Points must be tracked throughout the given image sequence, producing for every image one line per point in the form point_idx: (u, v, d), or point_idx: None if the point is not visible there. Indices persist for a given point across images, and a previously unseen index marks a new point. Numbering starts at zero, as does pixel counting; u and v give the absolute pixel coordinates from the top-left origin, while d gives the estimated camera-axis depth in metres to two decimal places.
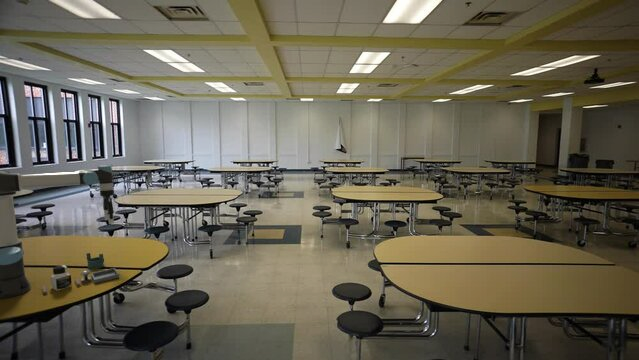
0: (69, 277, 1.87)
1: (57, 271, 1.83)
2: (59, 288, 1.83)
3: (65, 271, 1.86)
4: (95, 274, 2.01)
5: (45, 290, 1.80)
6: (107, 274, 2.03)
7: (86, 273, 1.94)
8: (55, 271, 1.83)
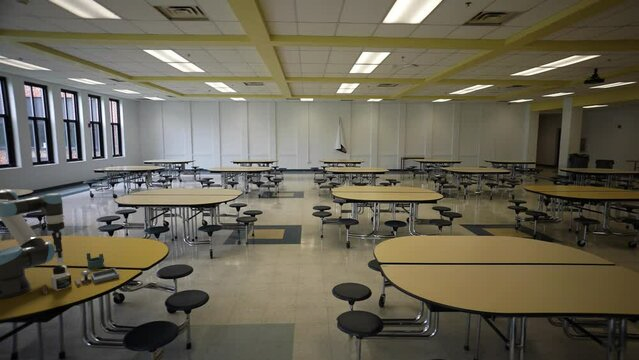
0: (69, 277, 1.87)
1: (57, 271, 1.83)
2: (59, 288, 1.83)
3: (65, 271, 1.86)
4: (95, 274, 2.01)
5: (45, 290, 1.80)
6: (107, 274, 2.03)
7: (86, 273, 1.94)
8: (55, 271, 1.83)
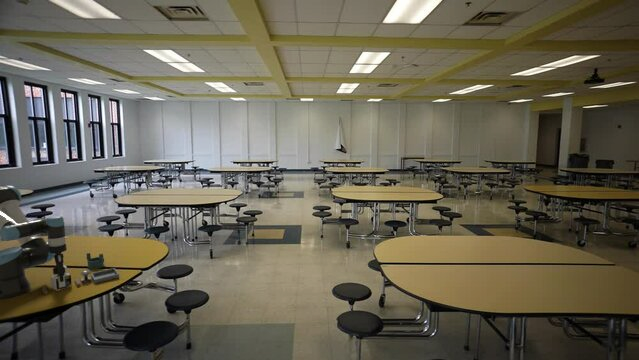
0: (69, 277, 1.87)
1: (57, 271, 1.83)
2: (59, 288, 1.83)
3: (65, 271, 1.86)
4: (95, 274, 2.01)
5: (45, 290, 1.80)
6: (107, 274, 2.03)
7: (86, 273, 1.94)
8: (55, 271, 1.83)
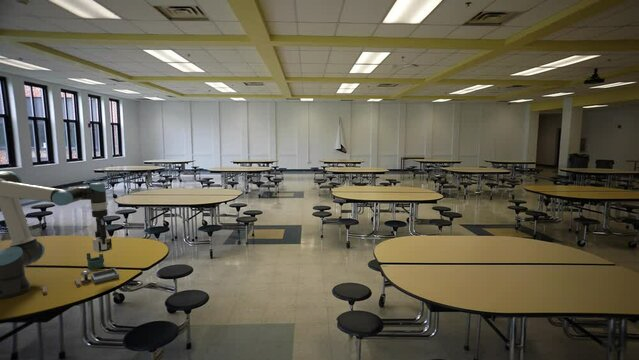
0: (109, 240, 1.97)
1: (99, 234, 1.94)
2: (101, 250, 1.94)
3: (106, 235, 1.97)
4: (95, 274, 2.01)
5: (45, 290, 1.80)
6: (107, 274, 2.03)
7: (86, 273, 1.94)
8: (97, 234, 1.94)
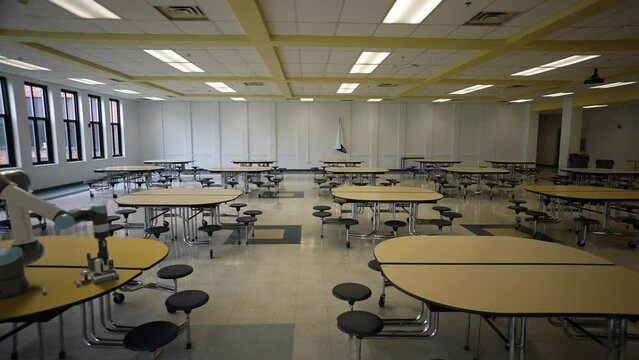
0: (111, 261, 1.99)
1: (101, 255, 1.95)
2: (103, 271, 1.96)
3: (108, 256, 1.98)
4: (95, 274, 2.01)
5: (45, 290, 1.80)
6: (107, 274, 2.03)
7: (86, 273, 1.94)
8: (99, 255, 1.95)
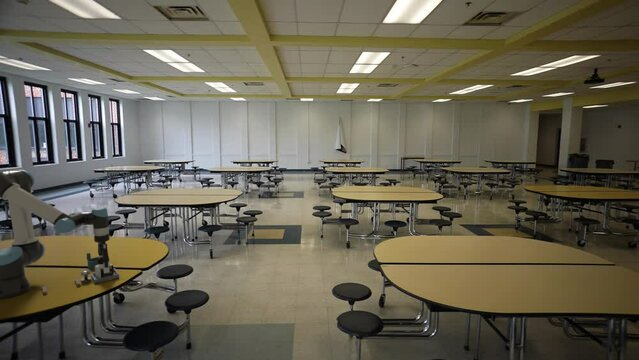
0: (111, 267, 1.99)
1: (101, 261, 1.96)
2: None
3: None
4: None
5: (45, 290, 1.80)
6: None
7: (86, 273, 1.94)
8: (99, 261, 1.96)
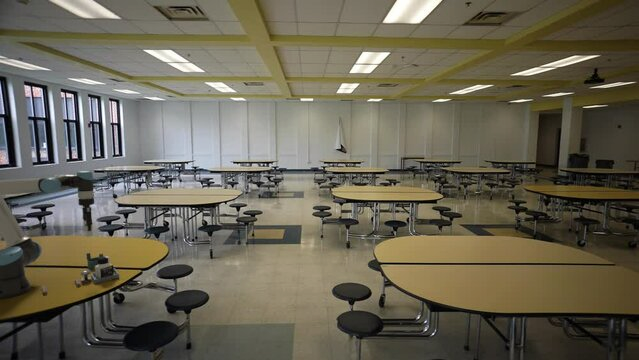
0: (111, 267, 1.99)
1: (101, 261, 1.96)
2: None
3: (108, 261, 1.99)
4: None
5: (45, 290, 1.80)
6: None
7: (86, 273, 1.94)
8: (99, 261, 1.96)
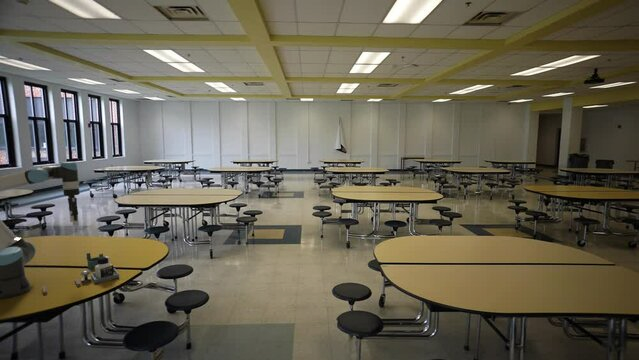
0: (111, 267, 1.99)
1: (101, 261, 1.96)
2: None
3: (108, 261, 1.99)
4: None
5: (45, 290, 1.80)
6: None
7: (86, 273, 1.94)
8: (99, 261, 1.96)
